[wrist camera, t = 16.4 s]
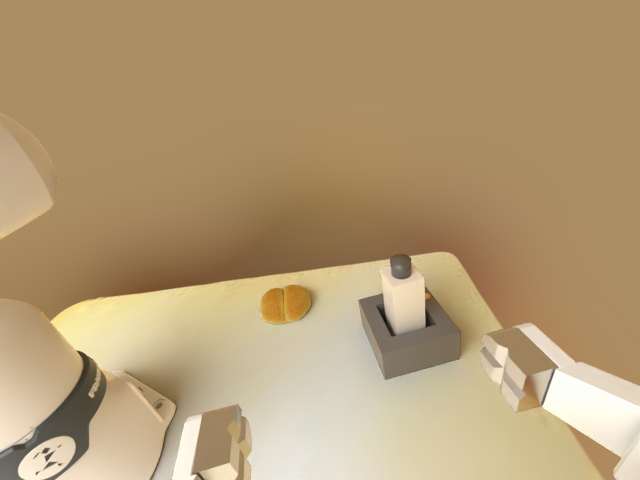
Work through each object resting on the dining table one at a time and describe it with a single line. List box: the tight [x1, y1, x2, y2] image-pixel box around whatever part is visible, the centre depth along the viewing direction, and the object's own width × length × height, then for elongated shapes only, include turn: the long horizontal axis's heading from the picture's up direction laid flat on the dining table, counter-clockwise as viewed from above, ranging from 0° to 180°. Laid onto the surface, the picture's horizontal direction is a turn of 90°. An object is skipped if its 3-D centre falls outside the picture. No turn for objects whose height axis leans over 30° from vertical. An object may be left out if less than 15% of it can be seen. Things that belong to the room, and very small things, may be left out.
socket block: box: [359, 287, 461, 380], centre depth 41 cm, size 10×10×5 cm
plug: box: [380, 254, 425, 337], centre depth 39 cm, size 4×4×13 cm
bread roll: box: [260, 285, 311, 325], centre depth 52 cm, size 8×9×4 cm
